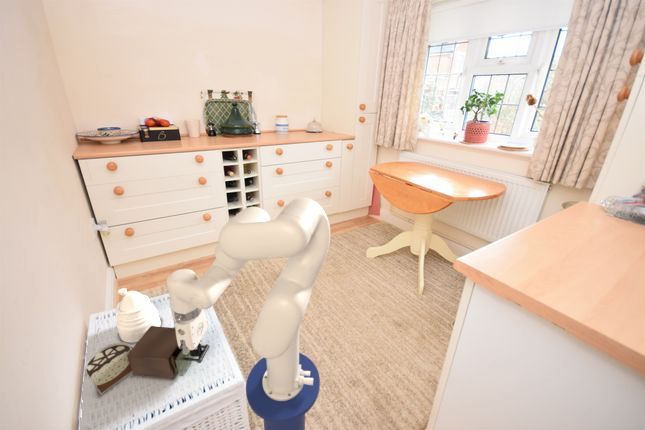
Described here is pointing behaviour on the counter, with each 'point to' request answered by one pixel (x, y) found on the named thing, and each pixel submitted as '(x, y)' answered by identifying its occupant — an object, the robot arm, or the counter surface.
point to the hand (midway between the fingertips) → (196, 354)
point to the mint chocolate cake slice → (108, 366)
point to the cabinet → (154, 353)
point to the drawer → (185, 359)
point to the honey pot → (135, 315)
